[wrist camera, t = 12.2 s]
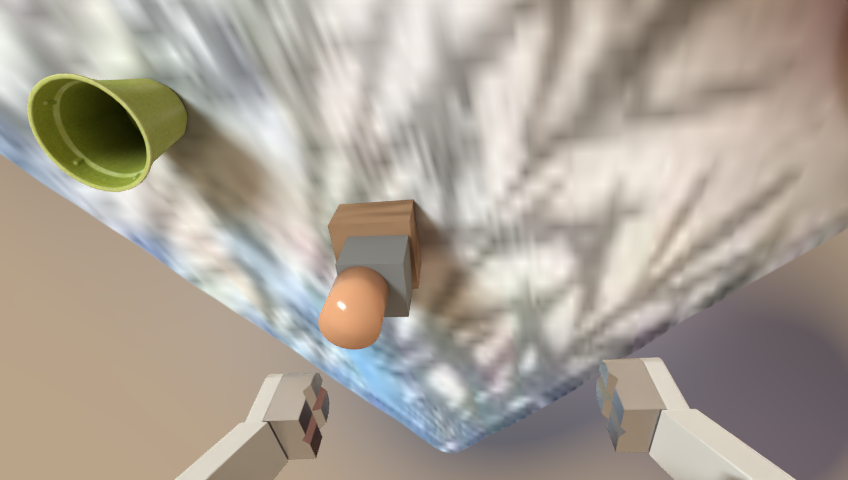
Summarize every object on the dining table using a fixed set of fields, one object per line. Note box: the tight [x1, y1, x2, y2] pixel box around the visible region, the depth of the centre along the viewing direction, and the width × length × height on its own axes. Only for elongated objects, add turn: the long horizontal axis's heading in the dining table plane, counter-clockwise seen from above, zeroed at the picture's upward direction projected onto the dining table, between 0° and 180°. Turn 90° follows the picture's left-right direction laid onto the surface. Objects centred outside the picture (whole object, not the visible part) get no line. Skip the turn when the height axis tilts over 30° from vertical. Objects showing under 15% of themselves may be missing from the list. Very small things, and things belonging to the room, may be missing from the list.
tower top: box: [336, 235, 413, 317], centre depth 40 cm, size 6×6×5 cm
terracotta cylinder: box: [318, 266, 389, 349], centre depth 35 cm, size 5×5×5 cm
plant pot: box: [27, 74, 188, 192], centre depth 36 cm, size 9×9×9 cm
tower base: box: [328, 200, 421, 288], centre depth 44 cm, size 8×8×5 cm
